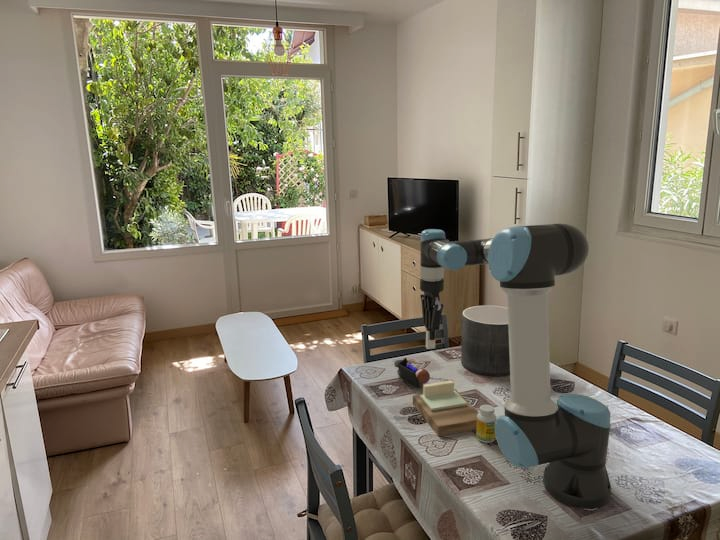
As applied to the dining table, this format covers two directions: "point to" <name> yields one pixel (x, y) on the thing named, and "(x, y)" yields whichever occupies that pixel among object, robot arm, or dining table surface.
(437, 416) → the board
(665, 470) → the dining table surface
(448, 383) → the cover
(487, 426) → the supplement bottle
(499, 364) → the planter
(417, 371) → the character figurine
